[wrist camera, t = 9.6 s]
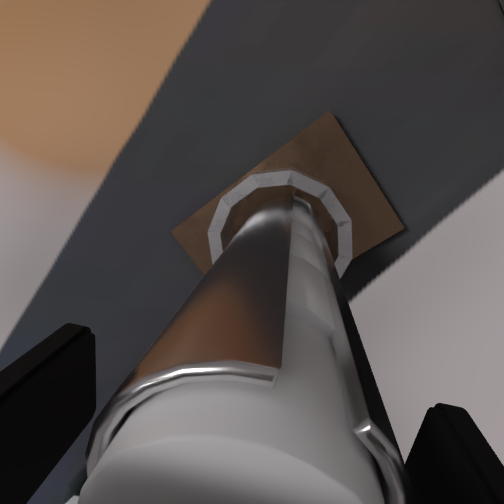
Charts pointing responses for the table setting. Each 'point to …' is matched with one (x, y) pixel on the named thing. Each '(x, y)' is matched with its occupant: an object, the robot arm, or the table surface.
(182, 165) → the table surface
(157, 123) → the table surface
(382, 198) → the duct collar
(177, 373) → the silver long cylinder
